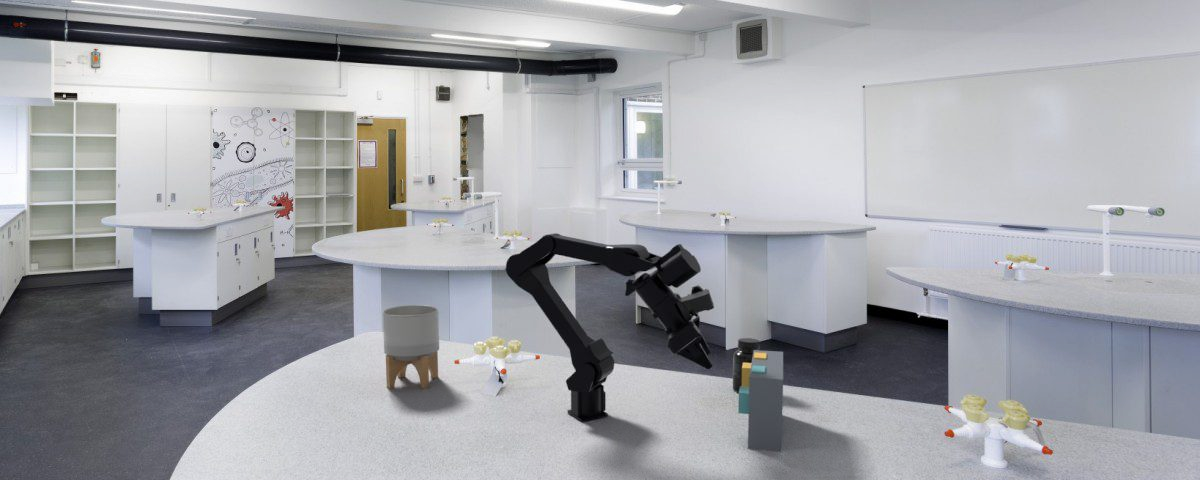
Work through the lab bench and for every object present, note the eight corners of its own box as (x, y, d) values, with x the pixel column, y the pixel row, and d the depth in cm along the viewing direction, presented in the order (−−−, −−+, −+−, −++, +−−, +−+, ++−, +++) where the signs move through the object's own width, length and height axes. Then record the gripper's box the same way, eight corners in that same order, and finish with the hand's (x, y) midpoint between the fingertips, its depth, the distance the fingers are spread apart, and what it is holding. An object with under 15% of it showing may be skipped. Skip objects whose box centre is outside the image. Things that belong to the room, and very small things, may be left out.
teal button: (738, 413, 134) (738, 392, 133) (739, 406, 138) (740, 386, 137) (757, 414, 133) (758, 394, 132) (758, 407, 137) (759, 387, 136)
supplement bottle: (762, 396, 161) (764, 344, 160) (732, 394, 162) (733, 343, 161) (762, 387, 168) (763, 337, 166) (732, 385, 169) (733, 336, 168)
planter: (423, 371, 181) (421, 302, 180) (450, 382, 172) (448, 310, 170) (375, 381, 173) (373, 310, 171) (401, 394, 163) (398, 318, 161)
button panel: (747, 448, 131) (749, 375, 130) (752, 412, 150) (753, 348, 149) (781, 451, 129) (783, 378, 128) (781, 414, 149) (783, 350, 147)
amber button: (741, 387, 143) (741, 367, 143) (742, 381, 147) (743, 362, 147) (759, 388, 142) (760, 368, 142) (760, 382, 146) (760, 363, 146)
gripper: (693, 284, 130) (746, 350, 130) (692, 267, 148) (738, 325, 148) (645, 320, 131) (698, 385, 132) (650, 298, 150) (696, 356, 150)
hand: (709, 360), depth 141 cm, fingers open, 9 cm apart
